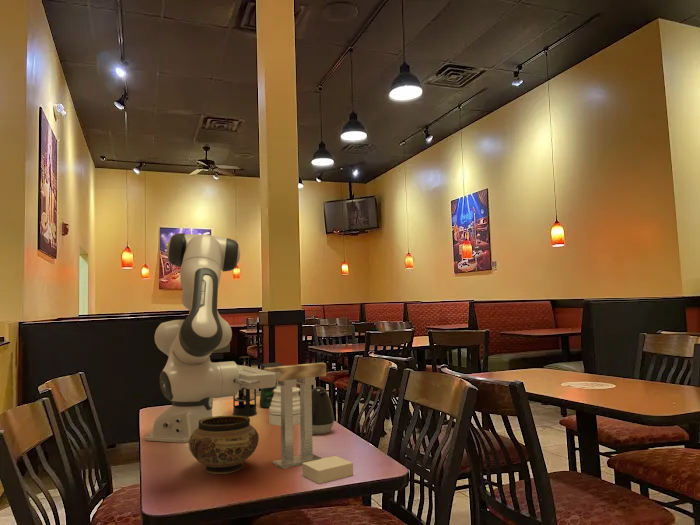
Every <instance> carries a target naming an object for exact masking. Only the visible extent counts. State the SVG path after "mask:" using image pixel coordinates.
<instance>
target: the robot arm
mask: <svg viewBox="0 0 700 525" xmlns="http://www.w3.org/2000/svg"><path fill="white" fill-rule="evenodd" d="M166 256H167V258H168V260H167V261H168V262H169V263H170V264H171V265H173V266H175V267H179V268H180V273H179V274H180V279H179V280H180V287H181V288H182V291H181V303H182V305H183V307H184V308H185V309H187V310H188V311H189V313H188V315H187V316H186V317H185V319H174V320H169V321H164V322H161V323H160V324H159V325H158V326H157V328H156V329H155V333H154V343H155V345H156V347H157V349H158V350H160V352H162V353H163V354H164V355H167V357H168V358H167V361H166V362H165V363H166V364H165V366H164V367H163V369H162V370H161V372H160V374H159V387H160V390H161V393H162V394H163V396H164V397H165V398H166V399H167V400H168V401H170V402H171V405H170V406H169V407H168V408H167V409H166V410H164V411H163V412H162V413H160V415H158V416H157V417H156V418H155V420H154V423H153V427H152V431H151V432H149V433H147V435H146V436H145V441H149V442H150V441H152V442H165V443H166V442H167V443H181V444H182V443H189V439H190V436H191V434H192V433H193V432H194V431H195V430H196V429H197V428H198V427H199V420H201V419H203V418H208V417H214V416H213V405H214V404H213V403H214V399H220V398H225V397H226V398H227V397H233V396H235V397H236V395H237V394H239V390H241V389H242V388H246V389H250V390H254V389H256V390H258V389H260V390H261V388H271V387H274V386H275V385H276V379H280V378H281V373H280V372H278V371H276V372H269V371H265V370H261V369H260V368H256V367H252V366H246V365H245V366H244V365H239V364H237V363H236V361H234V360H232V361H230V360H229V361H218V362H214V361H213V362H212V361H211V357H210V356H211V355H212V353H213V352H214V351H215V350H219V349H223V348H226V347H228V346H229V344H230V342H231V341H232V336H233V331H232V328H231V325H230V324H229V322H228V321H227V320H225V319H224V318H223V317H222V316H221V315H220V313H219V311H218V296H219V294H218V292H219V290H218V289H219V284H220V279H221V274H222V272H230V271H233V270H234V269H236V268H237V265H238V264H239V262H240V259H241V250H240V247H239V243H238V242H237V241H236V240H234V239H232V238H229V237H227V238H225V237H220V236H215V235H211V234H203V233H202V234H197V233H195V234H193V233H192V234H191V233H190V234H189V233H188V234H187V233H183V232H181V233H179V232H178V233H175V234H173V235H171V238H170V239H169V240H168V242H167V246H166ZM246 389H245V390H246Z"/></svg>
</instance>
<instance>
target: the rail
mask: <svg viewBox="0 0 700 525" xmlns="http://www.w3.org/2000/svg"><path fill="white" fill-rule="evenodd" d="M264 370H265V371H269V372H276V371H278V372H280V373H281V378H280V379H276V381H284V380H289V379H303V378H307V377H315V378H317V377H318V378H319V377H326V376H327V363H325V362H312V363H303V364H302V363H301V364H290V365H282V366H279V367H268V368H264Z"/></svg>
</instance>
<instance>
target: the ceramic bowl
mask: <svg viewBox="0 0 700 525" xmlns="http://www.w3.org/2000/svg"><path fill="white" fill-rule="evenodd" d="M250 421H251V419H250V416H249V417H247V416H239V415H233V414H232V415H228V414H226V415H216V416H213V417H208V418H203V419H201V420H199V427H198V428H197V429H196V430H195V431H194V432H193V433H192V434H191V436H190V439H189V442H188V446H189V451H190V453H191V455H192V456H193V458H195V460H196V461H198V462H199V463H200V464H202V465H204V466H206V467H205V472H206V473H209V474H213V475H229V474H231V473H235V472H238V471H240V470H241V469H242V468H243V463H244V462H245V461H246V460H248V459H249V458H251V456H252V455H253V454H254V452H255V450H256V449H257V447H258V445H259V440H260V439H259V437H260V436H259V433H258V430H257V429H256V428H255V427H254V426H253V425H252V424H250Z"/></svg>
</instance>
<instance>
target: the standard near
mask: <svg viewBox="0 0 700 525" xmlns="http://www.w3.org/2000/svg"><path fill="white" fill-rule="evenodd" d="M277 386H279V387H281V426H280V437H281V438H280V441H281V445H280V446H281V447H280V448H281V449H280V450H281V457H280V459H276V460H272V464H273V465H275V466H277V467H279V468H281V469H288V468H292V467H297V466H302V463H303V462H301V461H299V460H297V459H295V458H293V457H294V425H293V389H292V387H296V388H297V384H296V379H289V380H284V381H277Z"/></svg>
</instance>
